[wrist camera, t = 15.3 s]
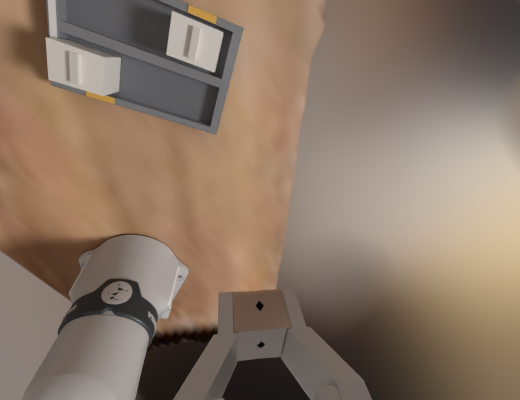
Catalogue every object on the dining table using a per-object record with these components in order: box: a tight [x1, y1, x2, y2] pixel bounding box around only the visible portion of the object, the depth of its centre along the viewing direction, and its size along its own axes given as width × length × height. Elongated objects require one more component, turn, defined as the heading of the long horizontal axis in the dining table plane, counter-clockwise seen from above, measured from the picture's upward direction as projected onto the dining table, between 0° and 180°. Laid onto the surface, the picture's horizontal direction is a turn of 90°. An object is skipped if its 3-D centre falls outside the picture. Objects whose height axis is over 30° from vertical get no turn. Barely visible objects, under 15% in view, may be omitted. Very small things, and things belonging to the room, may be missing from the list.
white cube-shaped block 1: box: [46, 37, 121, 96], centre depth 26 cm, size 4×5×5 cm
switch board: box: [46, 0, 243, 134], centre depth 28 cm, size 12×19×3 cm, turn 70°
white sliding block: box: [166, 11, 223, 72], centre depth 26 cm, size 4×5×5 cm
